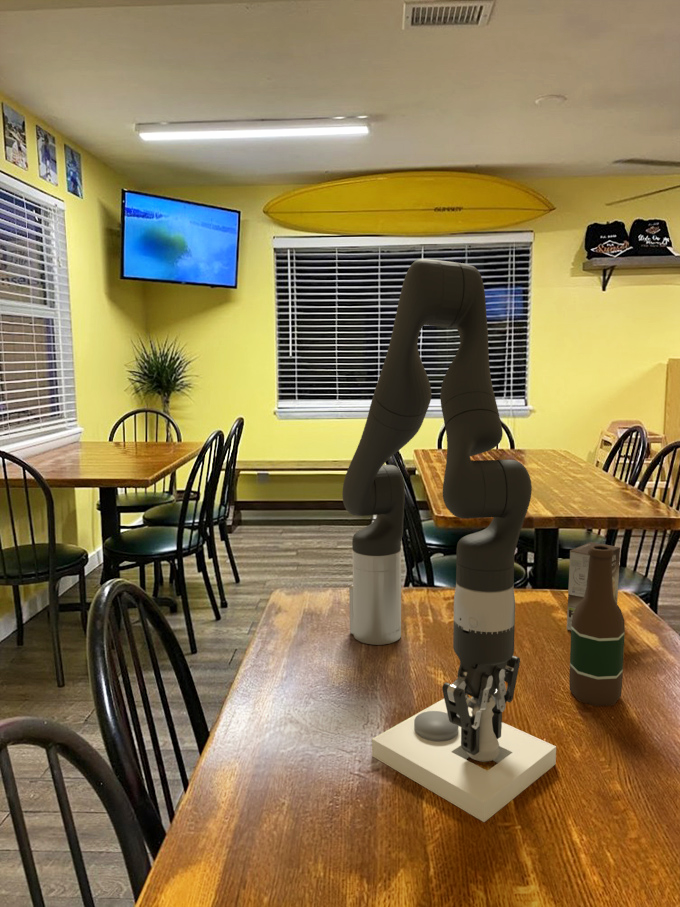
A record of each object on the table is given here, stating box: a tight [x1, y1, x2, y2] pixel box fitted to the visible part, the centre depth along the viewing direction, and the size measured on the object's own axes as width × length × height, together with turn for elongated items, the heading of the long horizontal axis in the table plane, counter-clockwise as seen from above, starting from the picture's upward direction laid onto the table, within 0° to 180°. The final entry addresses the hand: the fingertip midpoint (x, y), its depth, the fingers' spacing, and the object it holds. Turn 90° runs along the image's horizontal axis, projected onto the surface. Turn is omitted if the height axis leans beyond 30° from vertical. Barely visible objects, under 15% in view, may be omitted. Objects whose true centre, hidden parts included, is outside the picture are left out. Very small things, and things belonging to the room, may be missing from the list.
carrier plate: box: [371, 698, 557, 823], centre depth 88 cm, size 18×16×4 cm
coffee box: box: [566, 541, 621, 632], centre depth 130 cm, size 9×6×16 cm
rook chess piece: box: [465, 694, 500, 763], centre depth 85 cm, size 4×4×8 cm
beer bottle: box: [568, 545, 626, 707], centre depth 103 cm, size 8×8×24 cm
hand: (481, 743), depth 86 cm, fingers closed on rook chess piece, 4 cm apart
